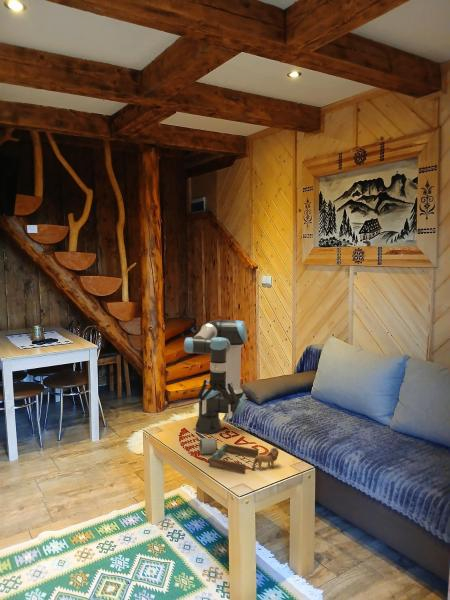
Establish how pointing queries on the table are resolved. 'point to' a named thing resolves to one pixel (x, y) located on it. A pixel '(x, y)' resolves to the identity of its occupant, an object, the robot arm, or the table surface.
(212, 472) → the table surface
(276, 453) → the lion figurine
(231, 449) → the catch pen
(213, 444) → the ceramic mug
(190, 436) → the table surface
